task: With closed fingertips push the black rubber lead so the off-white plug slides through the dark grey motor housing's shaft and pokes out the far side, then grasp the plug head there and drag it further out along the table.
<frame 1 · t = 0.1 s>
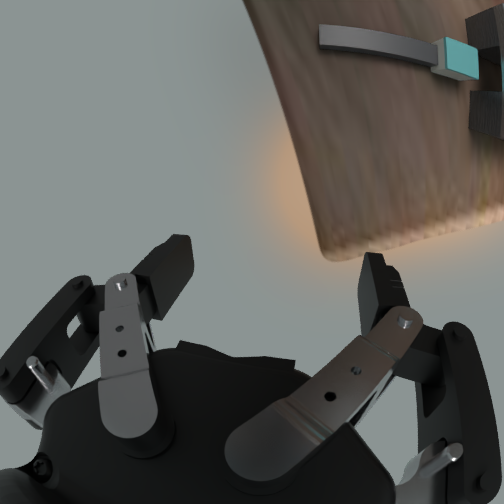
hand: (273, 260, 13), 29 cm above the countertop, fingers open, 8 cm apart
plug: (445, 62, 25), on the countertop
housing: (489, 79, 23), on the countertop
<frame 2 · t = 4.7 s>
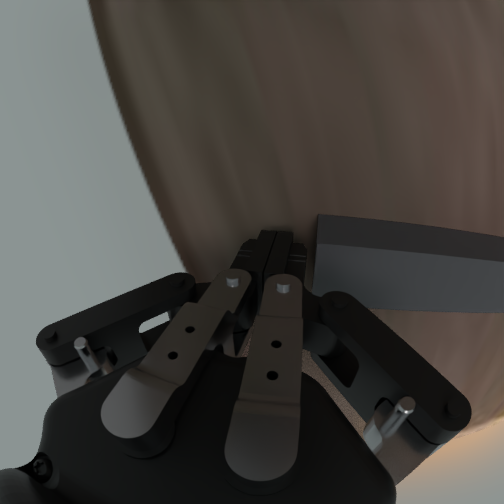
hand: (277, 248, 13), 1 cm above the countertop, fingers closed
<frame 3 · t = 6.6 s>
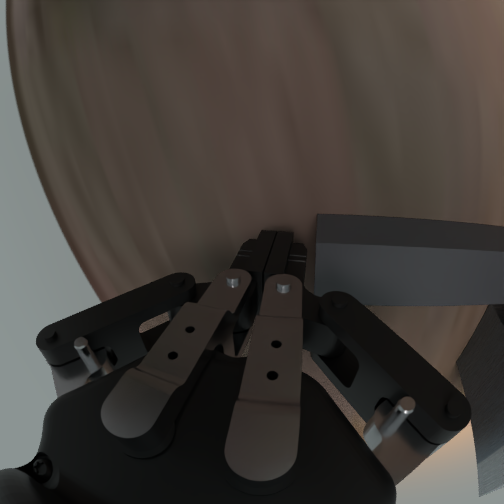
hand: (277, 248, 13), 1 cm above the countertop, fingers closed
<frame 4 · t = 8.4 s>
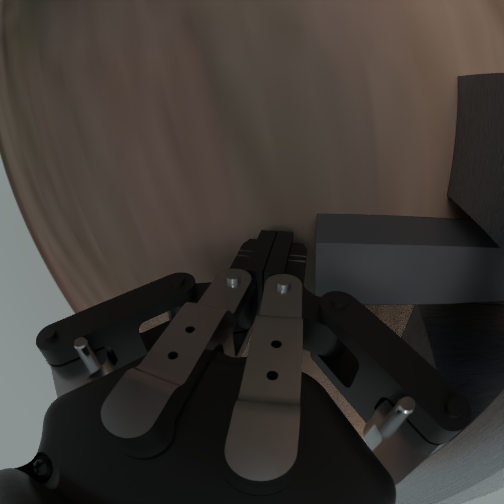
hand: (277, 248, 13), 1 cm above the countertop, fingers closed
housing: (486, 259, 12), on the countertop
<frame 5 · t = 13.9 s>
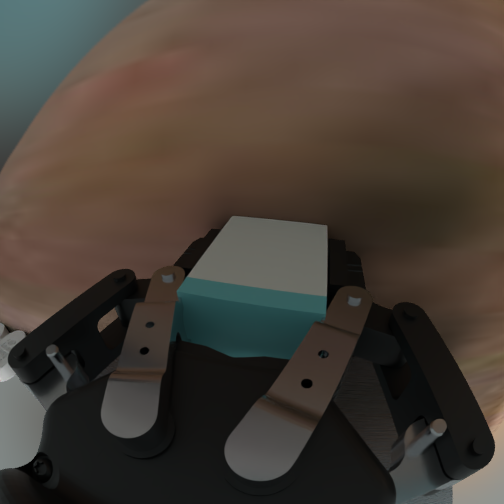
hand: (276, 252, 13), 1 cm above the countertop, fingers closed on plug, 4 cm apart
letter: (15, 330, 35), on the countertop
plug: (276, 265, 14), on the countertop, touching gripper
housing: (280, 364, 18), on the countertop
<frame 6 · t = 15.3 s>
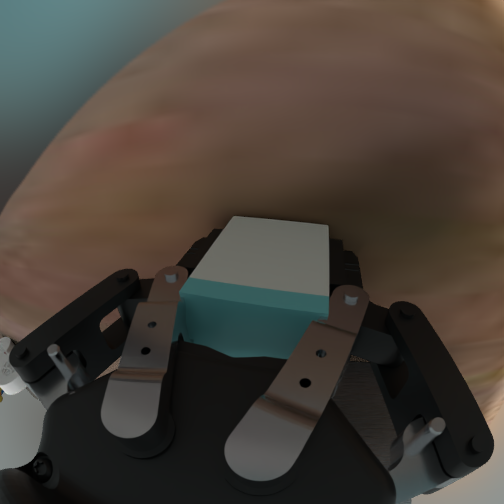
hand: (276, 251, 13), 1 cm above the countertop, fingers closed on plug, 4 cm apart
letter: (21, 344, 36), on the countertop
toy robot: (8, 352, 45), on the countertop
plug: (278, 265, 14), on the countertop, touching gripper
housing: (269, 384, 20), on the countertop
when the fingers open (1 cm above the countertop, at t = 16.5 s): plug stays where it is, on the countertop.
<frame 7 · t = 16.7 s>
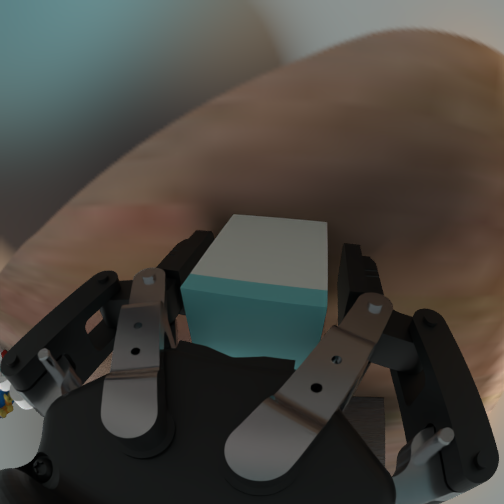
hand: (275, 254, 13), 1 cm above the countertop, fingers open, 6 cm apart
letter: (32, 359, 39), on the countertop
toy robot: (17, 363, 47), on the countertop
plug: (277, 262, 14), on the countertop
housing: (270, 410, 22), on the countertop
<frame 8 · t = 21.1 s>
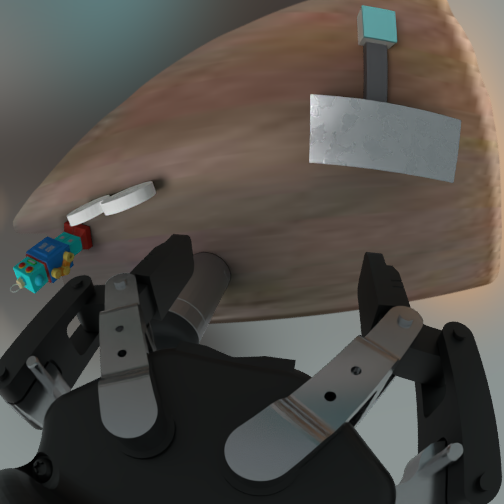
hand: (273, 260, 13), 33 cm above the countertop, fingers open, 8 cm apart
letter: (122, 194, 52), on the countertop
toy robot: (81, 233, 61), on the countertop
plug: (372, 33, 28), on the countertop
housing: (372, 128, 36), on the countertop
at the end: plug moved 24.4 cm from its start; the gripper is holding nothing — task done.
